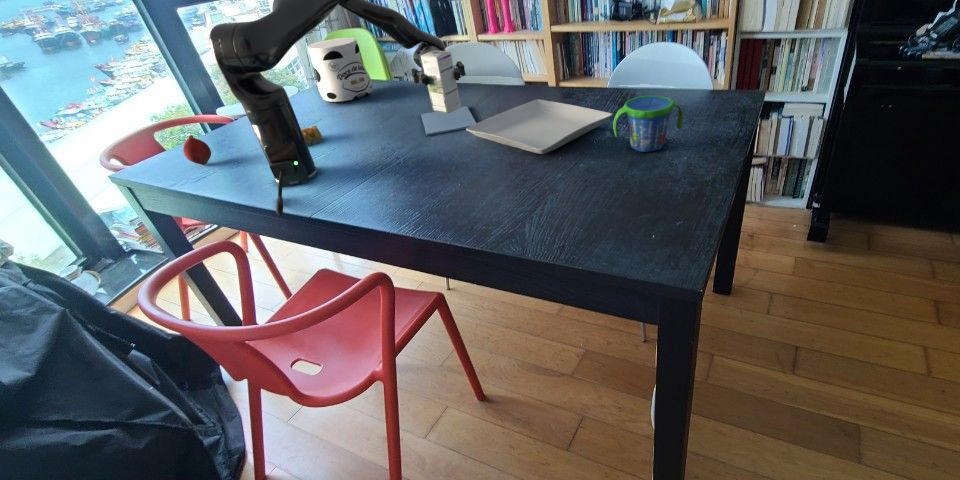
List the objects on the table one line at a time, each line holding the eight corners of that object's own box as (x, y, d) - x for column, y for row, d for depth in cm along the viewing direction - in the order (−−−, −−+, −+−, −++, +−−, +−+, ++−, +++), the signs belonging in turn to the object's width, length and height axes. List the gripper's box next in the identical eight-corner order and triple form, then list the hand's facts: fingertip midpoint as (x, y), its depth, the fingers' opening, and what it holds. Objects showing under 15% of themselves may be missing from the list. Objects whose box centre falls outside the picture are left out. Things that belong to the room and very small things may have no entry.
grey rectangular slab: (477, 126, 132) (477, 124, 131) (426, 135, 129) (426, 133, 129) (467, 107, 146) (467, 105, 145) (421, 116, 143) (420, 114, 143)
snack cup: (615, 158, 107) (616, 113, 101) (610, 140, 116) (610, 98, 109) (686, 153, 106) (691, 107, 100) (675, 135, 115) (679, 92, 109)
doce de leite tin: (366, 105, 157) (349, 46, 147) (315, 109, 158) (294, 51, 148) (381, 89, 171) (366, 35, 160) (334, 93, 172) (316, 39, 161)
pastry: (291, 151, 129) (286, 137, 126) (284, 145, 133) (279, 132, 131) (326, 141, 133) (321, 127, 131) (318, 135, 137) (313, 122, 135)
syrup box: (461, 106, 131) (451, 50, 123) (447, 114, 128) (436, 56, 119) (446, 104, 134) (435, 49, 125) (432, 111, 130) (419, 55, 122)
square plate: (614, 126, 123) (615, 111, 120) (543, 165, 108) (541, 148, 105) (538, 109, 139) (536, 96, 136) (466, 141, 123) (463, 126, 121)
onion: (199, 171, 123) (182, 141, 118) (187, 167, 126) (171, 138, 121) (221, 162, 127) (205, 132, 122) (209, 158, 129) (194, 130, 125)
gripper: (406, 54, 133) (410, 68, 121) (456, 46, 136) (466, 59, 123) (412, 82, 138) (417, 98, 125) (461, 74, 140) (470, 89, 128)
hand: (441, 79), depth 124 cm, fingers closed on syrup box, 8 cm apart
